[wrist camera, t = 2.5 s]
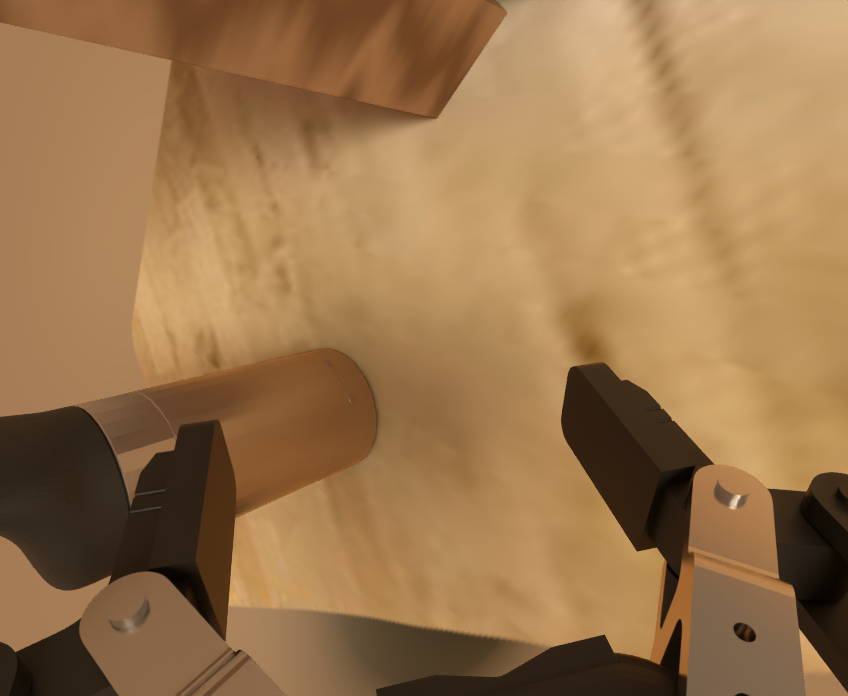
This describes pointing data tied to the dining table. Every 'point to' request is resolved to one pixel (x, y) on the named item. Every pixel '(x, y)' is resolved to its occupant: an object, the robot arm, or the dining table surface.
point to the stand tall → (293, 40)
